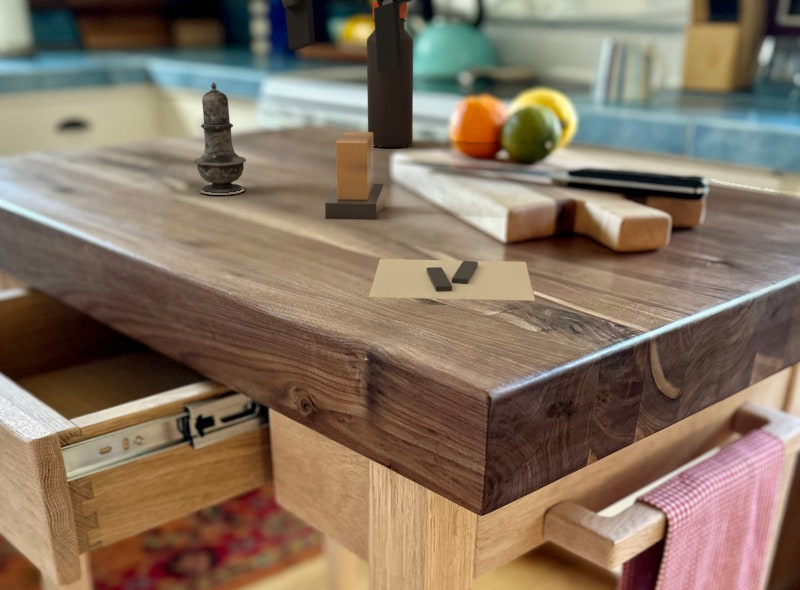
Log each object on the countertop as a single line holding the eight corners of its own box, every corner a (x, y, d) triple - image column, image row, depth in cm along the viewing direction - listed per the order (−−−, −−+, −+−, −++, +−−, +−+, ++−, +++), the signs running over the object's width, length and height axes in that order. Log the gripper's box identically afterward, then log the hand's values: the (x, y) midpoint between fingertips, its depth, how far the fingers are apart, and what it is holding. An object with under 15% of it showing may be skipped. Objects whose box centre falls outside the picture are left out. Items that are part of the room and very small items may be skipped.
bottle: (411, 149, 130) (412, 1, 122) (366, 148, 130) (363, 1, 122) (413, 142, 136) (414, 1, 128) (370, 141, 136) (368, 1, 128)
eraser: (338, 206, 94) (336, 129, 91) (384, 207, 94) (384, 130, 91) (325, 228, 85) (322, 144, 82) (376, 229, 85) (375, 145, 82)
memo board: (525, 273, 72) (526, 261, 71) (534, 313, 63) (535, 300, 62) (380, 270, 72) (379, 258, 72) (368, 309, 63) (368, 296, 63)
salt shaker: (223, 184, 105) (214, 79, 100) (258, 190, 102) (251, 81, 97) (186, 192, 101) (175, 82, 96) (222, 198, 98) (212, 85, 93)
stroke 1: (426, 272, 68) (426, 267, 68) (441, 271, 68) (441, 267, 68) (436, 291, 64) (436, 286, 64) (452, 291, 64) (452, 286, 64)
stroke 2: (463, 265, 70) (463, 260, 70) (477, 266, 70) (478, 261, 70) (451, 283, 66) (451, 278, 66) (467, 284, 65) (467, 279, 65)
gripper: (381, -113, 97) (394, 84, 99) (207, -205, 77) (229, 44, 80) (436, -137, 92) (449, 70, 95) (266, -241, 73) (288, 24, 75)
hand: (348, 59), depth 87 cm, fingers open, 13 cm apart
